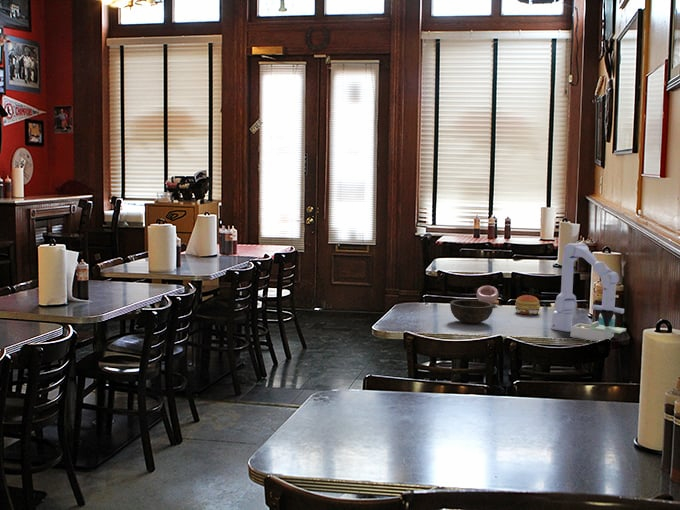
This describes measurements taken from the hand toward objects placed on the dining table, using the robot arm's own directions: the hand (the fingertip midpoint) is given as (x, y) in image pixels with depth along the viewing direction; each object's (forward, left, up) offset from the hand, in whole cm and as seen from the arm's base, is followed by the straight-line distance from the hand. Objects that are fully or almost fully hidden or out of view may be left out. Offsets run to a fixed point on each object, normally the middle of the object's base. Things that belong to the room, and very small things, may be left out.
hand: (606, 326), depth 394 cm
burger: (-57, +38, -8) cm, 69 cm away
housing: (-7, 0, -7) cm, 10 cm away
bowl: (-67, -8, -7) cm, 68 cm away
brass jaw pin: (-11, 0, -7) cm, 13 cm away
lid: (+1, 0, -1) cm, 2 cm away
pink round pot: (-85, +45, -7) cm, 96 cm away
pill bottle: (-4, +11, -7) cm, 14 cm away
